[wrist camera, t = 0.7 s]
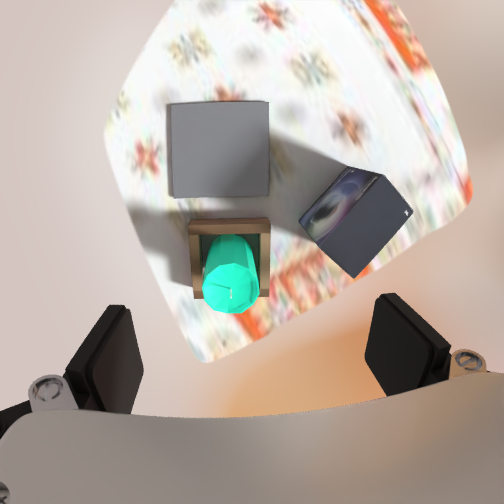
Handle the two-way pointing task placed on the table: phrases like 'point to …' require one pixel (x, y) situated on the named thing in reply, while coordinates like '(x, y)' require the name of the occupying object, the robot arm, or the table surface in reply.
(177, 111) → the slate mat
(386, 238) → the small box
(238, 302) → the candle
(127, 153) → the table surface
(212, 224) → the holder
